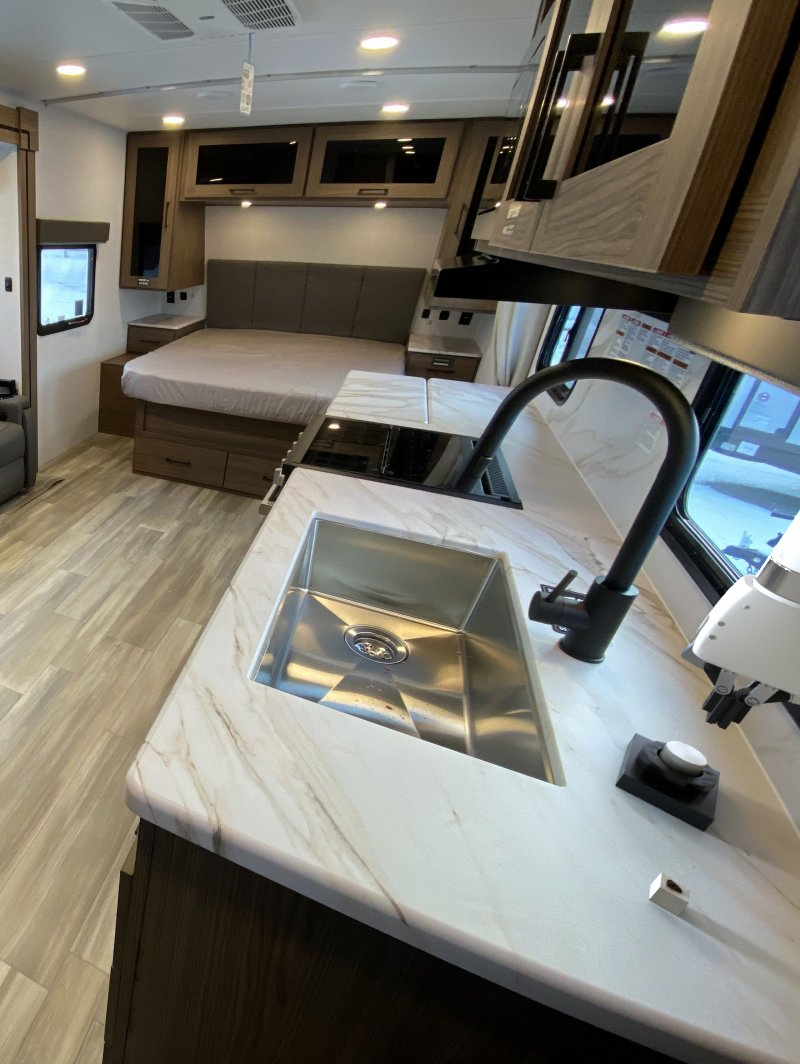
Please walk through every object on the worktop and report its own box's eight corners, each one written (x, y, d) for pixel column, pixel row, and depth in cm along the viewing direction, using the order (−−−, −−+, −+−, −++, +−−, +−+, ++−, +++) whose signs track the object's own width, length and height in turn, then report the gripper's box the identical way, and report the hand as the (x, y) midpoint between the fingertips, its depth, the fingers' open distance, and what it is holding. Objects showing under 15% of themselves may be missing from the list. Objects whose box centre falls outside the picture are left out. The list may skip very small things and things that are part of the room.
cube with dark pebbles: (648, 900, 58) (661, 885, 57) (650, 885, 59) (662, 870, 58) (677, 916, 57) (690, 901, 56) (678, 901, 58) (691, 886, 57)
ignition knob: (660, 747, 71) (668, 736, 70) (699, 766, 69) (709, 754, 68) (656, 763, 69) (665, 751, 68) (697, 783, 67) (706, 770, 66)
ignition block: (627, 744, 76) (642, 722, 75) (710, 784, 71) (728, 761, 69) (614, 786, 70) (630, 763, 68) (704, 832, 65) (723, 809, 63)
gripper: (931, 605, 55) (813, 742, 63) (713, 545, 64) (636, 671, 73) (944, 637, 50) (815, 780, 58) (707, 568, 60) (626, 699, 68)
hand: (716, 719), depth 66 cm, fingers closed
